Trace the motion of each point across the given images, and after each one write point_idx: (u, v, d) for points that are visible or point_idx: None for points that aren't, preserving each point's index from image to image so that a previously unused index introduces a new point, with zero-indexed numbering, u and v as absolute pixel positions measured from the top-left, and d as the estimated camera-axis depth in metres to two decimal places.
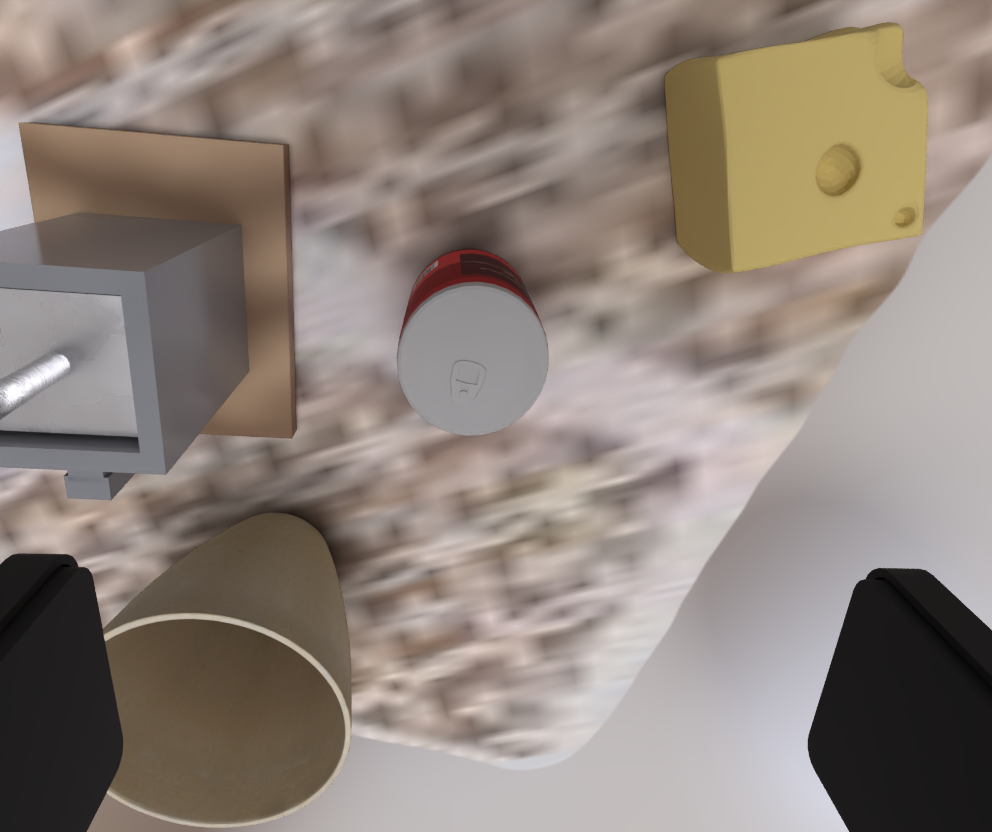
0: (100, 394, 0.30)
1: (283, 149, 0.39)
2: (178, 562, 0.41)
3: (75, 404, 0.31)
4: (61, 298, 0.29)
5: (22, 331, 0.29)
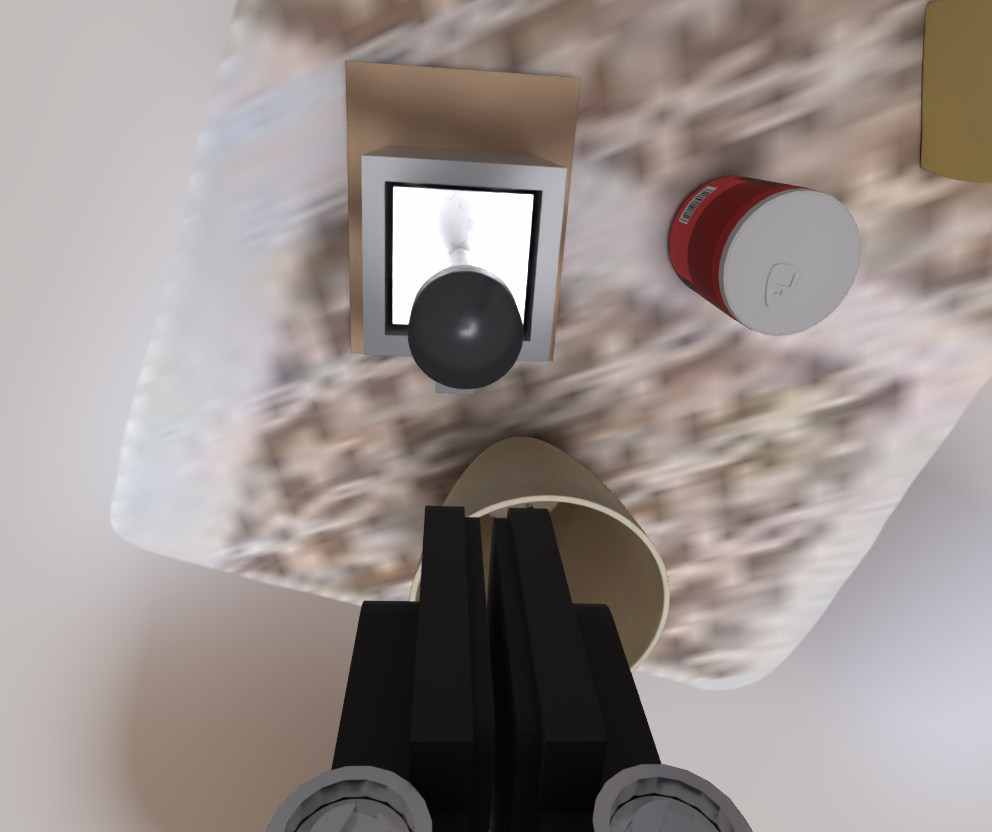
0: None
1: (579, 82, 0.42)
2: (479, 468, 0.44)
3: None
4: (478, 197, 0.32)
5: (438, 229, 0.33)
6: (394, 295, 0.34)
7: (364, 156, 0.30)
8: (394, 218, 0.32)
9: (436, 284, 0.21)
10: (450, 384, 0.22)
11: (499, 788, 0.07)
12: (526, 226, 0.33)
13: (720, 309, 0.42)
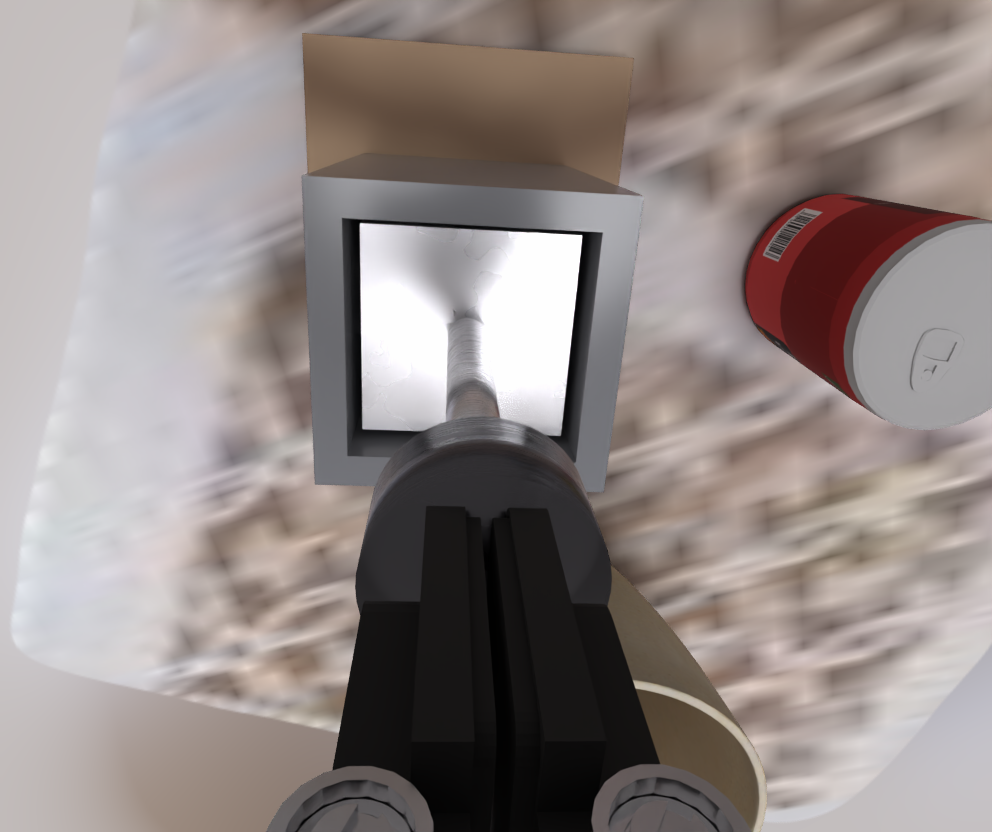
0: (519, 377, 0.22)
1: (632, 64, 0.30)
2: None
3: None
4: (496, 239, 0.20)
5: (432, 289, 0.21)
6: (364, 388, 0.22)
7: (306, 177, 0.18)
8: (362, 272, 0.20)
9: (419, 490, 0.09)
10: None
11: (498, 788, 0.07)
12: (570, 283, 0.21)
13: (831, 384, 0.30)
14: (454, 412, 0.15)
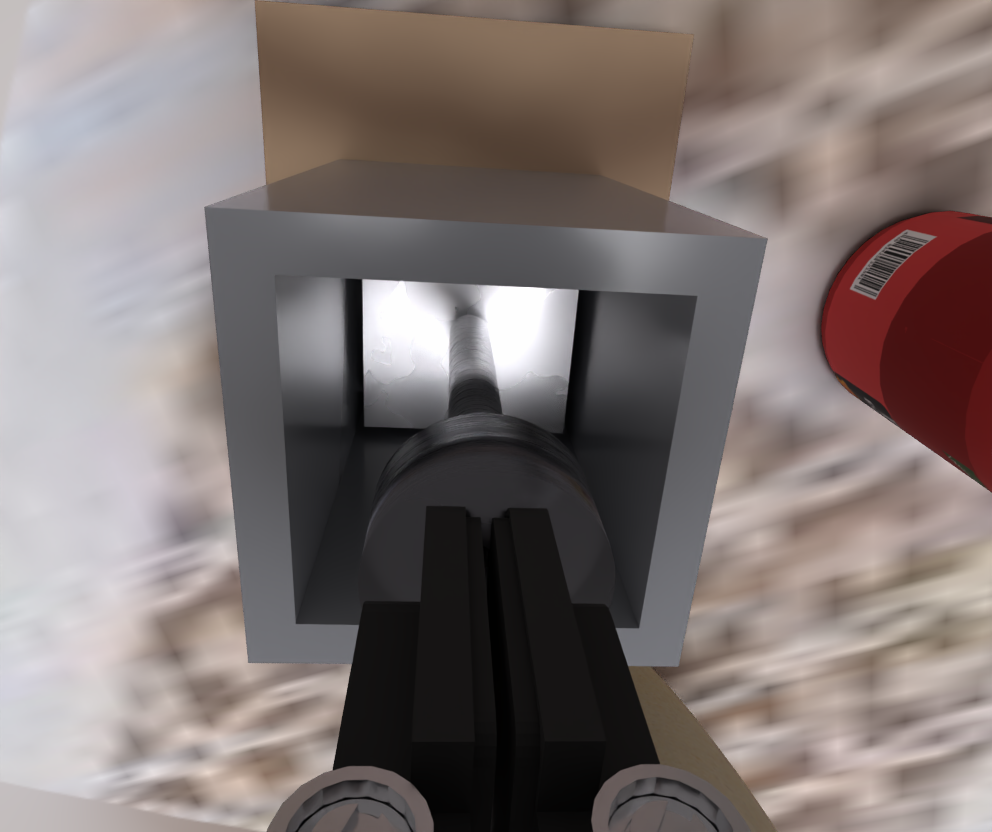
0: (521, 374, 0.22)
1: (690, 42, 0.23)
2: None
3: None
4: None
5: (434, 286, 0.21)
6: (366, 385, 0.22)
7: (213, 210, 0.11)
8: None
9: (421, 486, 0.09)
10: None
11: (498, 788, 0.07)
12: None
13: (953, 465, 0.23)
14: (456, 409, 0.15)
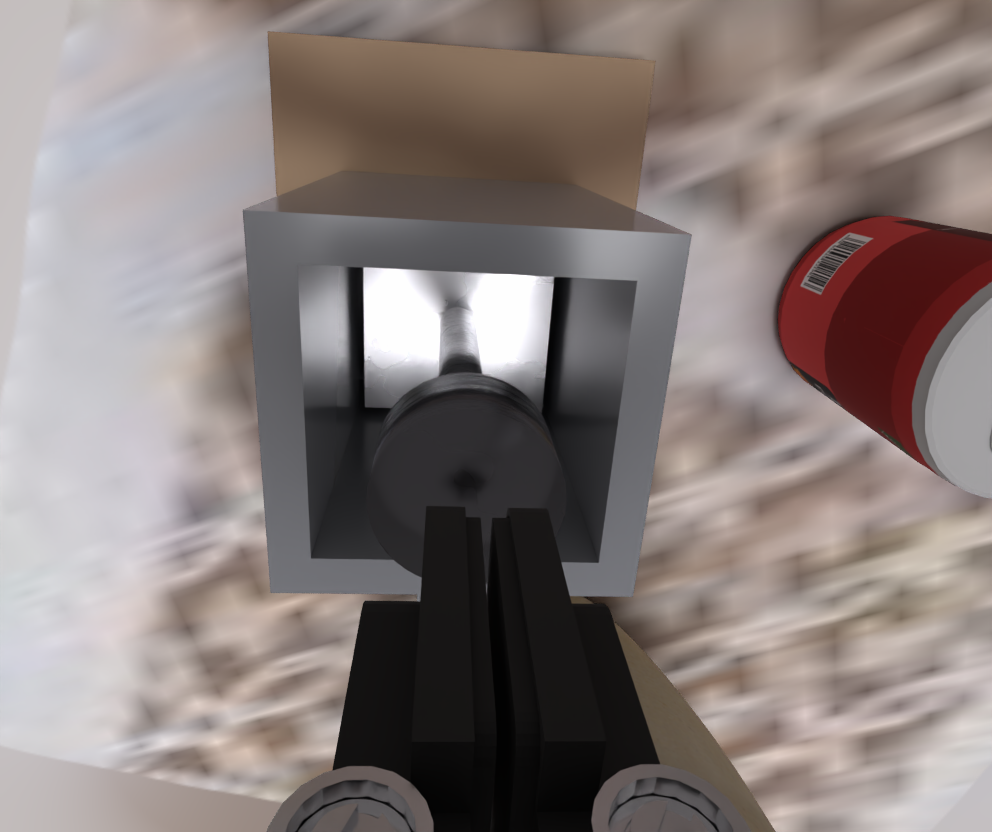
0: (504, 360, 0.25)
1: (653, 67, 0.26)
2: None
3: None
4: None
5: (426, 281, 0.23)
6: (366, 370, 0.25)
7: (250, 212, 0.14)
8: (365, 267, 0.23)
9: (415, 422, 0.12)
10: None
11: (498, 788, 0.07)
12: (548, 276, 0.24)
13: (887, 439, 0.26)
14: None
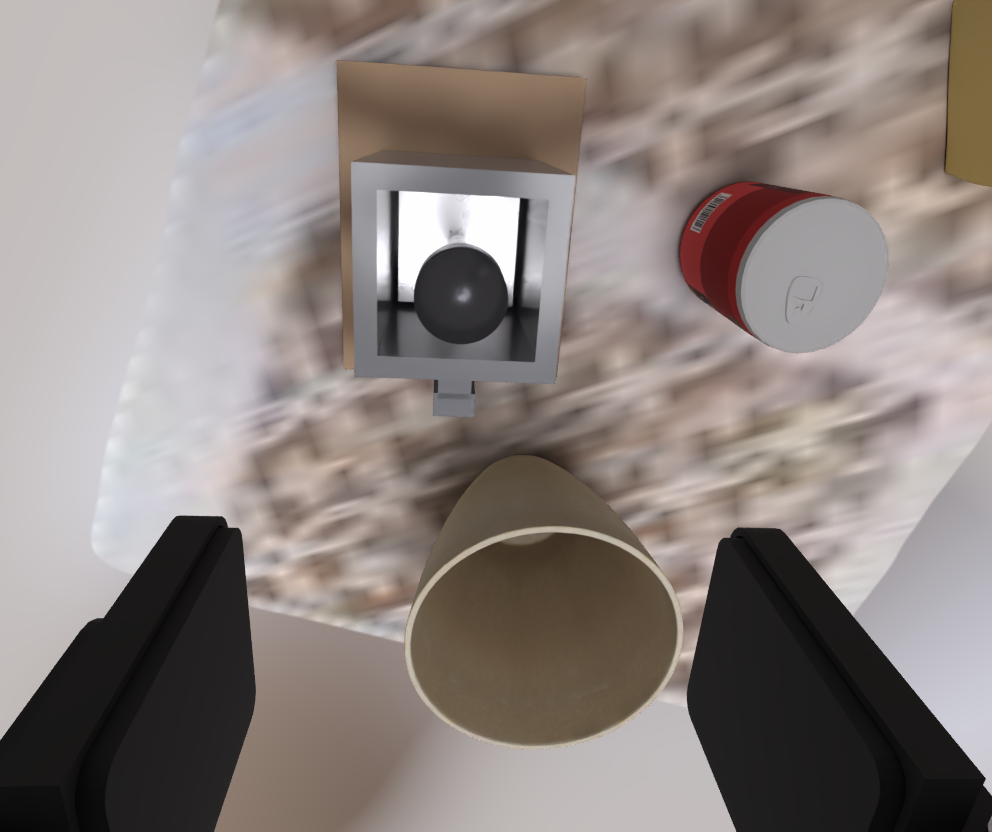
0: None
1: (585, 82, 0.40)
2: (479, 492, 0.42)
3: None
4: None
5: (438, 218, 0.38)
6: (399, 276, 0.39)
7: (354, 162, 0.28)
8: (400, 208, 0.37)
9: (437, 257, 0.26)
10: (448, 340, 0.27)
11: (792, 818, 0.07)
12: (514, 215, 0.38)
13: (736, 324, 0.40)
14: None
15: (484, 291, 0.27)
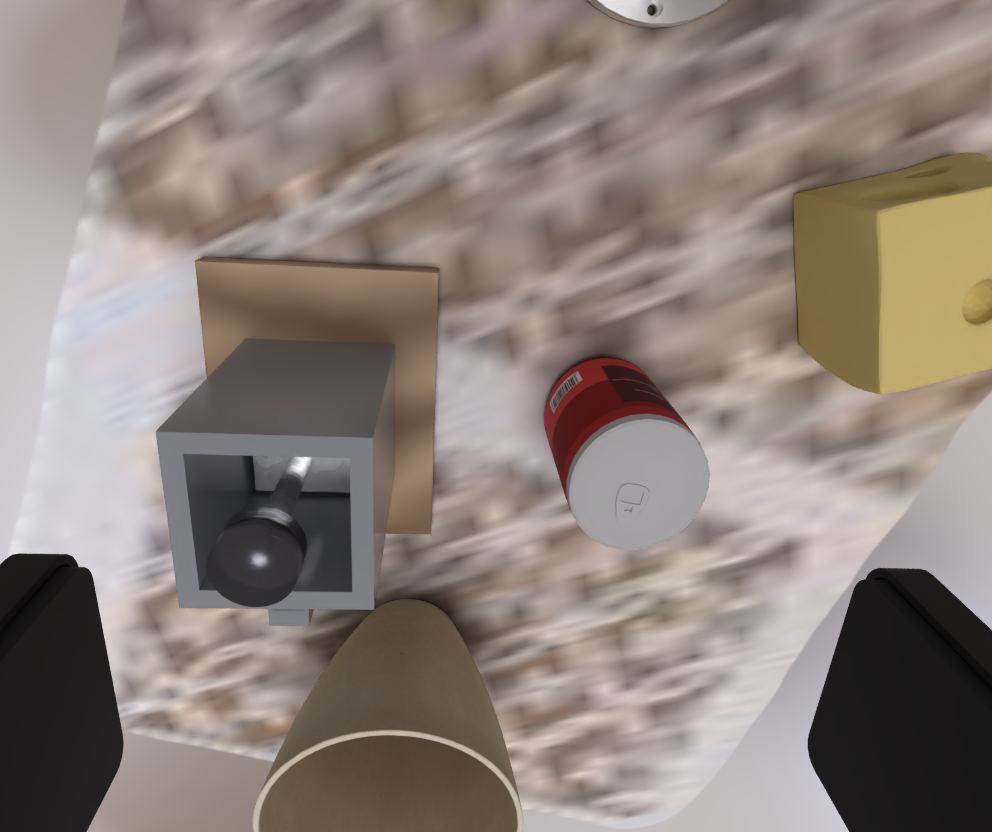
0: (339, 462, 0.40)
1: (438, 276, 0.42)
2: (342, 664, 0.43)
3: (320, 470, 0.40)
4: None
5: None
6: (255, 468, 0.40)
7: (159, 432, 0.29)
8: None
9: (225, 536, 0.28)
10: (245, 604, 0.29)
11: None
12: None
13: None
14: (272, 495, 0.33)
15: (274, 564, 0.28)
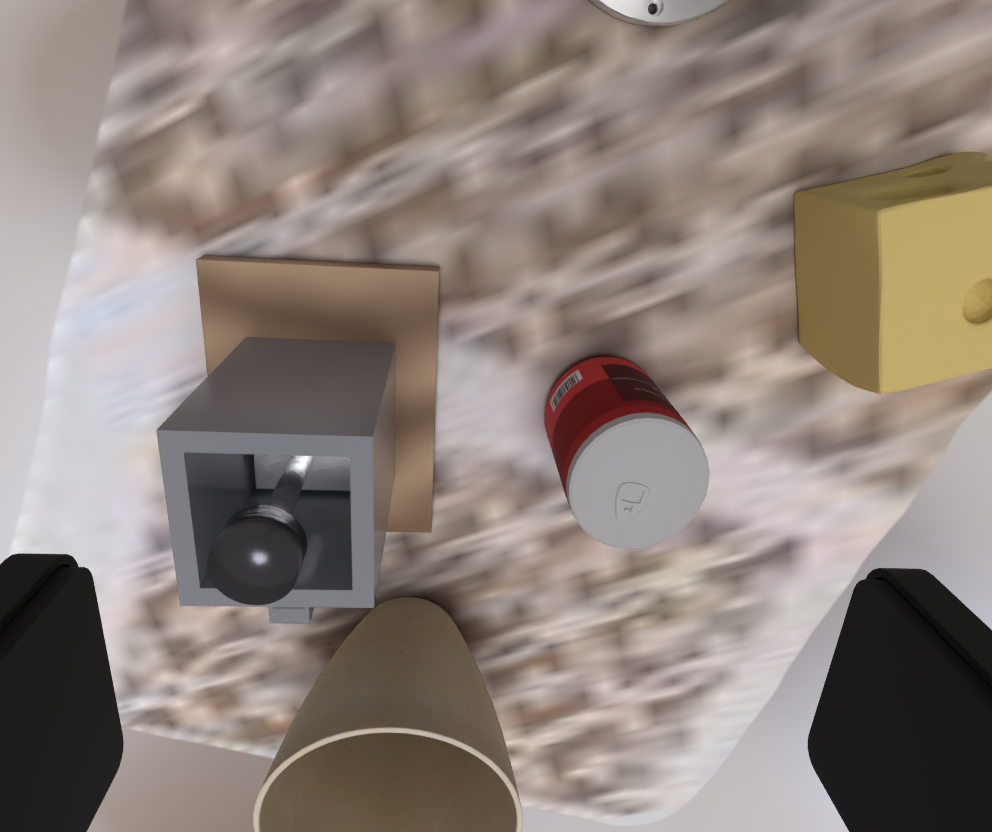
0: (340, 460, 0.40)
1: (438, 274, 0.42)
2: (342, 661, 0.43)
3: (321, 468, 0.41)
4: None
5: None
6: (256, 467, 0.40)
7: (159, 431, 0.29)
8: None
9: (226, 535, 0.28)
10: (245, 602, 0.29)
11: None
12: None
13: None
14: (272, 494, 0.33)
15: (274, 562, 0.28)
